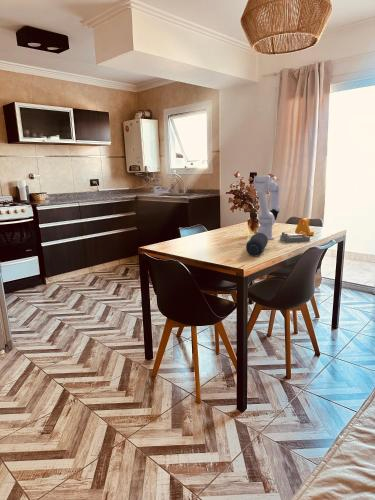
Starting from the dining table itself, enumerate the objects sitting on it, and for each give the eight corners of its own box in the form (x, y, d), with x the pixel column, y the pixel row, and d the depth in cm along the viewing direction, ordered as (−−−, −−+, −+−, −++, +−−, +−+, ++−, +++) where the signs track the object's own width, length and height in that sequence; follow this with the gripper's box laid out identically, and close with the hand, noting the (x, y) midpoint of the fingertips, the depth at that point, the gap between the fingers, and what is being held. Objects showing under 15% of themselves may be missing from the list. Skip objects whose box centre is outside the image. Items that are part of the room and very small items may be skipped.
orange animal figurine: (314, 235, 241) (315, 218, 239) (308, 236, 237) (309, 219, 234) (300, 233, 250) (301, 216, 247) (295, 234, 245) (295, 218, 242)
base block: (286, 242, 222) (286, 234, 220) (280, 239, 231) (280, 231, 230) (309, 241, 223) (310, 233, 222) (302, 238, 233) (303, 230, 232)
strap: (284, 236, 224) (284, 235, 224) (282, 236, 227) (282, 234, 227) (304, 235, 226) (304, 234, 225) (302, 235, 229) (302, 233, 228)
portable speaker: (252, 246, 216) (252, 231, 213) (268, 247, 212) (268, 231, 210) (244, 257, 193) (244, 239, 191) (262, 258, 190) (262, 240, 187)
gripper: (284, 201, 238) (283, 221, 241) (276, 199, 252) (276, 218, 255) (274, 202, 237) (273, 221, 240) (267, 200, 251) (266, 218, 254)
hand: (274, 219), depth 247 cm, fingers closed
